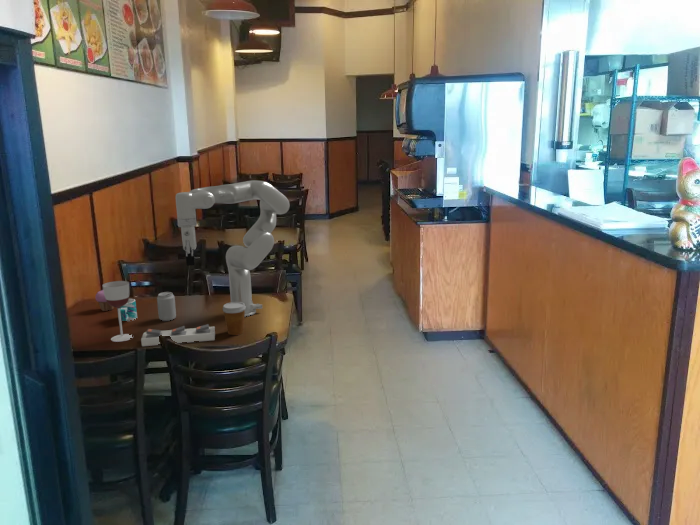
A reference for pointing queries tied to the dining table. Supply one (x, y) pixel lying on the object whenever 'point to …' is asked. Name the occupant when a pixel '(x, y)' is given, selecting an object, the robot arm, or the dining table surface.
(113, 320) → the dining table surface
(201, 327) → the rocker
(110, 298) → the wineglass
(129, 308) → the mug
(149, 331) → the rocker
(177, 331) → the rocker middle
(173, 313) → the can
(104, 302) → the cupcake
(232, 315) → the disposable coffee cup
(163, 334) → the power strip
